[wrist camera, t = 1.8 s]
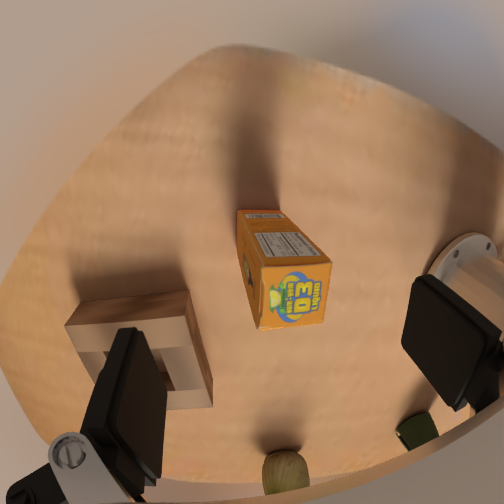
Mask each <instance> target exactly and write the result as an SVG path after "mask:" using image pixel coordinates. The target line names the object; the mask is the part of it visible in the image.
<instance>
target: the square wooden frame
mask: <svg viewBox="0 0 504 504" xmlns="http://www.w3.org/2000/svg"><path fill="white" fill-rule="evenodd" d="M64 327H65V329H66V331H67V333H68V335H69V337H70V339H71V341H72V343H73V345H74V347H75V349H76V351H77V353H78V355H79V357H80V359H81V361H82V362H83V364H84V366H85V368H86V370H87V371H88V373H89V375H90V377H91V378H92V380H93V382H94V383H95V384H96V381H97V378H98V375H99V373H100V371H101V370H102V369H103V367H104V364H105V362H106V359H107V356H108V354H109V351H110V349H111V346H112V343H113V341H114V338H115V336H116V333H117V331H118V329H119V328H127V327H136V328H137V329H138V331H143V333H144V335H145V337H146V340H147V342H148V345H149V348H150V350H151V352H152V355H153V357H154V360H155V362H156V365H157V367H158V369H159V372H160V374H161V376H162V378H163V381H164V383H165V385H166V388H167V394H168V397H167V407H166V410H181V409H198V408H210V407H213V378H212V375H211V371H210V368H209V364H208V361H207V357H206V354H205V350H204V346H203V343H202V339H201V335H200V331H199V328H198V324H197V320H196V316H195V312H194V308H193V304H192V300H191V295H190V291H189V290H183V291H175V292H167V293H159V294H151V295H142V296H133V297H125V298H116V299H106V300H97V301H87V302H81V303H80V304H79V305H78V307H77V308H76V310H75V311H74V312H73V314H72V315H71V317H70V318H69V320H68V321H67V322H66V324H65V325H64Z"/></svg>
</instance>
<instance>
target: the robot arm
mask: <svg viewBox="0 0 504 504" xmlns="http://www.w3.org/2000/svg"><path fill="white" fill-rule="evenodd" d="M401 344H402V347H403V349H404V350H405V351H406V352H407V354H408V355H409V356H410V357H411V359H412V360H413V361H414V362H415V364H416V365H417V366H418V368H419V369H420V370H421V371H422V373H423V374H424V375H425V377H426V378H427V379H428V381H429V382H430V383H431V384H432V386H433V387H434V388H435V390H436V391H437V392H438V394H439V395H440V396H441V398H442V399H443V400H444V402H445V403H446V404H447V405H448V406H449V407H452V408H453V410H454V411H455V412H457V411H458V410H460V409H462V408H463V407H465V406H466V405H467V403H469V404H470V405H471V406H470V417H469V419H468V420H466V421H465V422H463V423H461V424H460V425H458V426H456V427H455V428H453V429H451V430H450V431H448V432H446V433H444V434H442V435H441V436H439V437H437V438H435V439H433V440H431V441H429V442H427V443H425V444H423V445H421V446H419V447H417V448H415V449H413V450H411V451H409V452H407V453H405V454H402V455H400V456H398V457H396V458H393V459H391V460H388V461H386V462H384V463H381V464H379V465H376V466H373V467H371V468H368V469H365V470H363V471H360V472H357V473H354V474H351V475H348V476H345V477H341V478H338V479H335V480H332V481H328V482H325V483H321V484H317V485H313V486H309V487H305V488H301V489H296V490H292V491H287V492H282V493H277V494H271V495H265V496H258V497H251V498H245V499H244V498H243V499H235V500H223V501H212V502H193V503H150V502H149V501H148V500H147V499H146V498H145V497H144V495H143V493H144V486H156V478H158V479H159V478H161V474H162V456H163V442H164V429H165V417H166V407H167V397H168V394H167V388H166V385H165V383H164V381H163V378H162V376H161V374H160V372H159V369H158V367H157V365H156V362H155V360H154V357H153V355H152V352H151V350H150V348H149V345H148V342H147V340H146V337H145V335H144V333H143V331H138V329H137V328H136V327H127V328H119V329H118V331H117V333H116V336H115V338H114V341H113V343H112V346H111V349H110V351H109V354H108V356H107V359H106V362H105V364H104V367H103V369H102V370H101V371H100V373H99V375H98V378H97V381H96V384H95V387H94V389H93V392H92V395H91V398H90V401H89V404H88V407H87V410H86V414H85V417H84V420H83V423H82V427H81V430H80V433H77V432H67V433H64V434H61V435H60V436H58V437H57V438H56V439H55V440H54V441H53V442H52V443H51V445H50V448H49V450H48V459H49V463H47V464H46V465H44V466H42V467H41V468H39V469H38V470H36V471H34V472H33V473H31V474H30V475H28V476H26V477H24V478H23V479H21V480H19V481H17V482H16V483H14V484H13V485H12V486H11V487H10V488H9V490H8V492H7V495H6V504H504V263H503V262H501V261H499V260H498V252H497V249H496V246H495V245H494V243H493V242H492V240H491V239H489V238H488V237H487V236H485V235H483V234H481V233H476V232H471V233H466V234H464V235H462V236H459V237H458V238H456V239H455V240H454V241H452V242H451V243H450V244H449V245H448V246H447V247H446V248H445V249H444V250H443V251H442V252H441V253H440V255H439V256H438V257H437V258H436V260H435V261H434V263H433V264H432V266H431V268H430V269H429V271H428V273H427V274H426V275H422V276H418V277H417V278H416V279H415V281H414V282H413V284H412V287H411V293H410V299H409V305H408V310H407V315H406V320H405V325H404V329H403V334H402V338H401Z"/></svg>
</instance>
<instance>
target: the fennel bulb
mask: <svg viewBox="0 0 504 504" xmlns="http://www.w3.org/2000/svg"><path fill="white" fill-rule="evenodd" d="M262 482H263V487H264V492H265V495H271V494H277V493H282V492H287V491H292V490H296V489H301V488H305V487H309V486H310V481H309V473H308V468H307V464H306V461H305V459H304V458H303V457H302V456H301V455H299V454H298V453H297V452H294V451H288V450H286V451H277V452H274V453H272V454H270V455H268V456H267V457H266V458H265V461H264V464H263V468H262Z"/></svg>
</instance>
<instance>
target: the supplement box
mask: <svg viewBox="0 0 504 504" xmlns="http://www.w3.org/2000/svg"><path fill="white" fill-rule="evenodd" d="M237 255H238V259H239V264H240V268H241V272H242V276H243V281H244V284H245V288H246V292H247V296H248V300H249V304H250V307H251V311H252V315H253V319H254V322H255V325H256V328H257V330H258V331H266V330H272V329H278V328H286V327H296V326H305V325H313V324H320V323H322V322H323V320H324V314H325V308H326V302H327V295H328V289H329V283H330V275H331V269H332V261H331V260H330V259H329V258H328V257H327V256H326V255H325V254H324V253H323V252H322V251H321V250H320V249H319V248H318V247H317V246H316V245H315V244H314V243H313V242H312V241H311V240H310V239H309V238H308V237H307V236H306V235H305V234H304V233H303V232H302V231H301V230H300V229H299V228H298V227H297V226H296V225H295V224H294V223H293V222H292V221H291V220H290V219H289V218H288V217H287V216H286V215H285V214H283V213H282V212H281V211H280V210H238V212H237Z"/></svg>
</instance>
